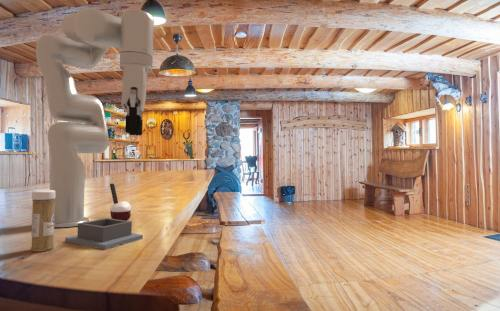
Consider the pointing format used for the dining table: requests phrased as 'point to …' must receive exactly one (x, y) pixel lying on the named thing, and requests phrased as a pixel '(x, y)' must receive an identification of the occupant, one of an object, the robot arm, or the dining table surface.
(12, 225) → the dining table surface
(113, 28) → the robot arm
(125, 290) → the dining table surface
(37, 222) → the sprinkles bottle
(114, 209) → the cocoa
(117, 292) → the dining table surface
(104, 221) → the bottle stand
